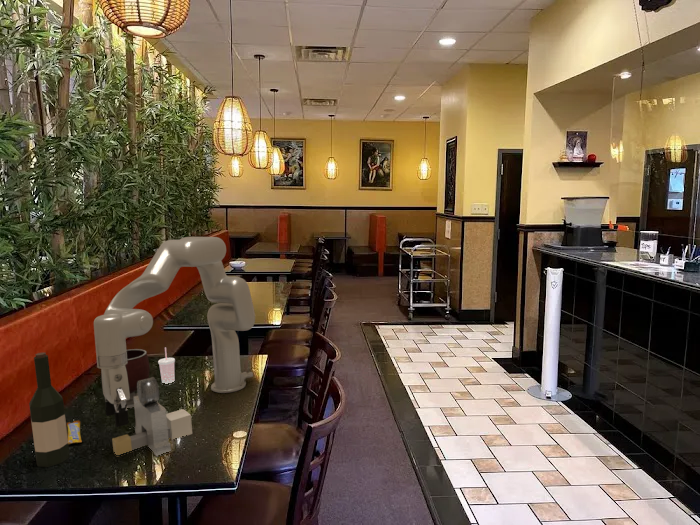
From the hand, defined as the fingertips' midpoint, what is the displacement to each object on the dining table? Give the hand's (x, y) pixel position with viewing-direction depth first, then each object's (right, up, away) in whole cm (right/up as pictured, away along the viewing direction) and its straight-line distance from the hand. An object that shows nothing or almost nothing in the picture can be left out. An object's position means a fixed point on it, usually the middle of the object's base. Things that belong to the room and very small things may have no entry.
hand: (117, 419), depth 142 cm
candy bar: (-19, -9, +14) cm, 26 cm away
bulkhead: (+7, -9, +7) cm, 13 cm away
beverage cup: (-6, -3, +56) cm, 56 cm away
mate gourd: (-13, -6, +38) cm, 41 cm away
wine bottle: (-17, -11, -1) cm, 20 cm away
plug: (+7, -9, +7) cm, 13 cm away
